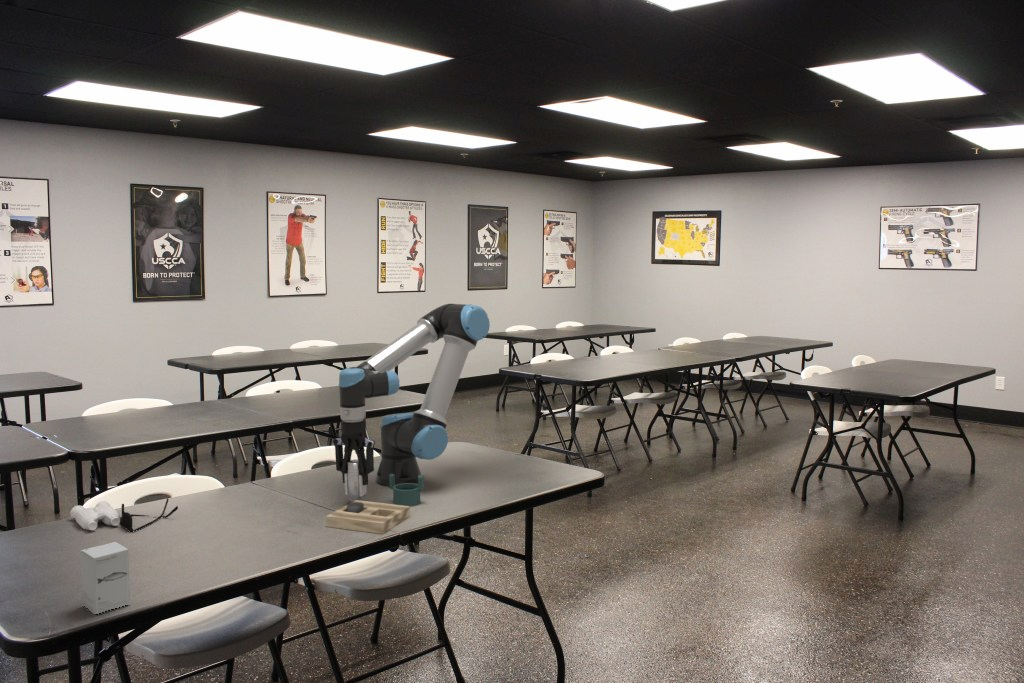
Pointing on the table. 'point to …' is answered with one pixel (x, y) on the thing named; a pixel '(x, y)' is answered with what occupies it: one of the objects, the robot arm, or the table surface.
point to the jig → (368, 516)
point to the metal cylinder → (353, 480)
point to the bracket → (406, 491)
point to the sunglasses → (128, 518)
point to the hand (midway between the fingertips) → (355, 494)
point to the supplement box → (105, 577)
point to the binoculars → (95, 515)
